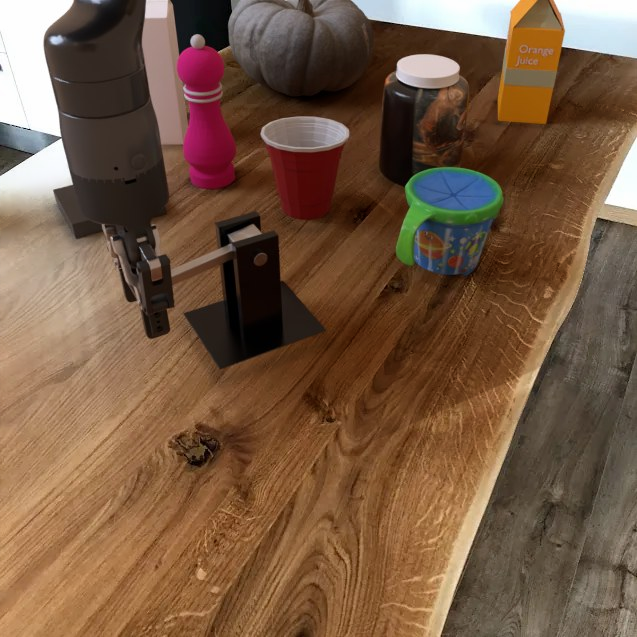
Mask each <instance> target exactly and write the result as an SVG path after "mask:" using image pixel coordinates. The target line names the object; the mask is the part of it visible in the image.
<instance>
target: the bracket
mask: <svg viewBox="0 0 637 637" xmlns="http://www.w3.org/2000/svg"><path fill="white" fill-rule="evenodd" d="M252 224H254V225H255V226H256V227H257V229H258V230H259V231H260V232H261V233H262V234H259V235H256V236H253V237H249V238H246V239H243V240H239V241H236V242H232V251H233V259H231V260H229V261H227V262H225V263H222V264H220V265H219V272H220V280H221V289H222V298H223V300H222V299H221V300H219V301H217V302H214V303H210V304H207V305H204V306H201V307H198V308H195V309H192V310H189V311H186V312H183V316H184V317H185V319H186V320H187V322H188V323H189V325H190V326H191V328H192V329H193V331H194V332H195V335H197V337H198V339H199V340H200V342H201V343H202V344H203V346H204V347H205V349H206V351H207V352H208V354H209V355H210V357H211V358H212V360H213V361H214V363H215V364H216V366H217V367H218V369H219V370H223V369H226V368H229V367H231V366H234V365H238V364H239V363H242V362H244V361H248V360H250V359H253V358H255V357H258V356H261V355H264V354H267V353H269V352H272V351H275V350H277V349H281V348H283V347H286V346H289V345H291V344H294V343H296V342H300V341H303V340H306V339H308V338H310V337H313V336H316V335H319V334H321V333H324V332H326V331H327V329H326V328H325V327H324V326H323V324H322V323H321V322H320V321H319V319H317V318H316V316H315V315H314V314H313V313H312V312H311V310H309V309H308V307H307V306H306V305H305V304H304V302H303V301H302V300H301V299H300V298H299V297H298V296H297V295H296V293H294V291H293V290H292V289H291V287H290V286H289V285H288V284H287V283H286V282H285V281H284V280H282V279H281V264H280V263H281V258H280V241H279V240H280V239H279V237H280V236H279V234H278V233H277V231H275V230H274V229H273V230H269V231H266V232H262V224H261V214H260V213H259V212H258V211H257V210H254V211H251V212H247V213H244V214H241V215H238V216H234V217H230V218H225V219H222V220H219V221H216V222H214V228H215V237H216V245H217V246H216V247H217V249H220V248H222V247H224V246H227V245H229V244H230V242H229V238H228V234H231V233H233V232H235V231H238V230H240V229H242V228H245V227H247V226H249V225H252Z"/></svg>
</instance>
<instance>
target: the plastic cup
mask: <svg viewBox="0 0 637 637" xmlns="http://www.w3.org/2000/svg"><path fill="white" fill-rule="evenodd" d="M260 137H261V139H262V140H263V141H264V144H265V145H266V150H267V152H268V157H269V159H270V164H271V168H272V172H273V176H274V182H275V185H276V190H277V195H278V197H279V201H280V204H281V209H282V211H283V212H284V214H285V215H286V216H288V217H291V218H292V219H297V220H306V221H311V220H315V219H320V218H322V217H324V216H325V215H327V213H328V212H330V210H331V205H332V204H331V203H332V198H333V197H334V191H335V186H336V182H337V176H338V170H339V166H340V160H341V159H342V154H343V151H344V149H345V148H344V147H345V145H346V142H347V141H348V140H349V138H350V129H349V128H348V127H347V126H346V125H344V124H343V123H341V122H339V121H336V120H333V119H330V118H324V117H320V116H301V115H300V116H292V117H291V116H290V117H283V118H279V119H275V120H273V121H270V122H268V123H267V124H265V125H264V126H262V128H261V131H260Z"/></svg>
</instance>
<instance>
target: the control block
mask: <svg viewBox="0 0 637 637" xmlns="http://www.w3.org/2000/svg"><path fill="white" fill-rule="evenodd" d="M52 191H53V192H52V193H53V195H54V199H55V200H54V201H55V203H56V206H57V207H58V209H59V211H60V213H61V214H62V216H63V218H64V220H65V222H66V224H67V226H68V227H69V228H70V231H71V233H72V235H73V237H74V239H75V240H77V239H82V238H85V237H88V236H92V235H97V234H100V233H104V231H103V229H102V224H99V223H96V222H93V221H91V220H89V219H87V218H86V217H85V216H84V215H83V214H82V213H81V212H80V210H79V207H78V203H77V199H76V195H75V191H74V187H73V184H70V185H66V186H62V187H58V188H53V189H52ZM166 206H167V205H166ZM166 206H165V207H164V209H163V210H162V211H161V212H159V213H158V214H157V215H156V216H155V217H154V218H153V219H155V218H159V217H163V216H166V215H167V213H168V212H167V208H166Z"/></svg>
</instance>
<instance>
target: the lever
mask: <svg viewBox="0 0 637 637" xmlns="http://www.w3.org/2000/svg"><path fill="white" fill-rule="evenodd" d="M259 234H263V232H262V231H261V232H260V231H259V230H258V229H257V227H256V226H255V225H254V224H252V225H249V226H247V227H245V228H242V229H240V230H238V231H235V232H233V233H231V234H228V238H229V242H230V244H229V245H227V246H224V247H222V248H220V249H218V248H217V249H215V250H213V251H211V252H209V253H205V254H204V255H201V256H199V257H197V258H195V259H192V260H190V261H188V262H185V263H183V264H181V265H178V266H176V267H174V268H171V277H172V286H175V285H177V284H179V283H182V282H184V281H186V280H188V279H190V278H192V277H195V276H197V275H200V274H201V273H204V272H207V271H208V270H209V271H210V269H211V270H212V269H213V268H215V267H217V266H220V264H222V263H225V262H227V261H229V260H231V259H233V251H232V242H236V241H239V240H243V239H246V238H249V237H253V236H256V235H259ZM131 272H132V274H136V273H137V270H136V269H131ZM124 278H125V276H124ZM127 284H128V283H127ZM128 285H129V287H130V289H131V290H132V292H133V294H134V296H135V297H136V293H135V290H134V286H131V285H130V284H128ZM136 299H137V297H136ZM137 301H138V300H137ZM137 301H136V302H137Z"/></svg>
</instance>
